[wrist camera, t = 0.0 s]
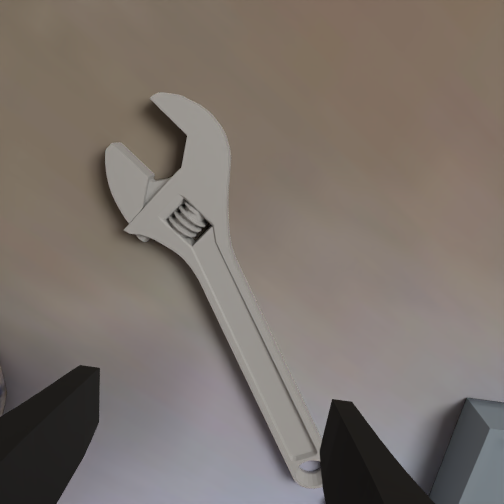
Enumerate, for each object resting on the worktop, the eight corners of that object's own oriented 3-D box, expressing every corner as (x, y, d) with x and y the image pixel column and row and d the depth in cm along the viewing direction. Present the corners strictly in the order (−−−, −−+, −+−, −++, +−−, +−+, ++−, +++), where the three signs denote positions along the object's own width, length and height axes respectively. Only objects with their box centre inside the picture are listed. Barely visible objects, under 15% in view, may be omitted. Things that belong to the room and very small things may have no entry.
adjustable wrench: (335, 462, 26) (340, 486, 24) (246, 482, 27) (245, 506, 25) (210, 85, 18) (205, 81, 17) (92, 128, 19) (76, 128, 18)
